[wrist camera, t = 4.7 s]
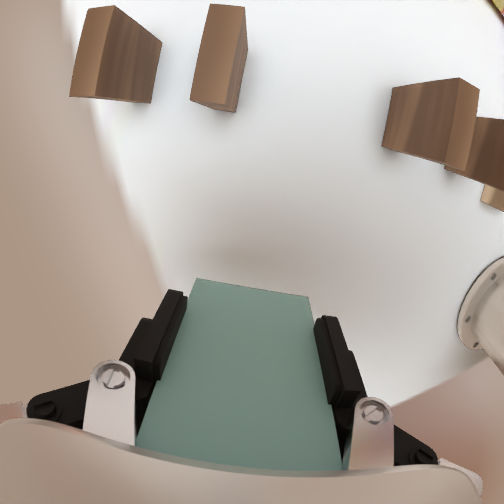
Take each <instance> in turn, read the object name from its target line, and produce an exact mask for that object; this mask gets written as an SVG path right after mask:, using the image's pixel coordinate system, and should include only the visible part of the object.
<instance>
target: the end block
mask: <svg viewBox="0 0 504 504" xmlns="http://www.w3.org/2000/svg"><path fill="white" fill-rule="evenodd" d="M481 201H483V202H485V203H487V204H489V205H491V206H493V207H495V208H497V209H499V210H501V211H503V212H504V192H503V191H500V190H498V189H496V188H493V187H491V186H488V185H486V184H485V187H484V190H483V194H482V198H481Z"/></svg>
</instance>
